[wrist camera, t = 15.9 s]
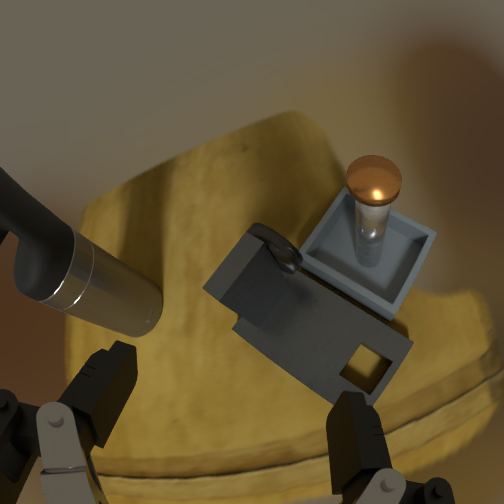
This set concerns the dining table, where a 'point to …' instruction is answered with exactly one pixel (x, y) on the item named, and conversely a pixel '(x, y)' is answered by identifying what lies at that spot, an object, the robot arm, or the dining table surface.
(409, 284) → the tray
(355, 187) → the lock pin
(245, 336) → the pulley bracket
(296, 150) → the dining table surface
